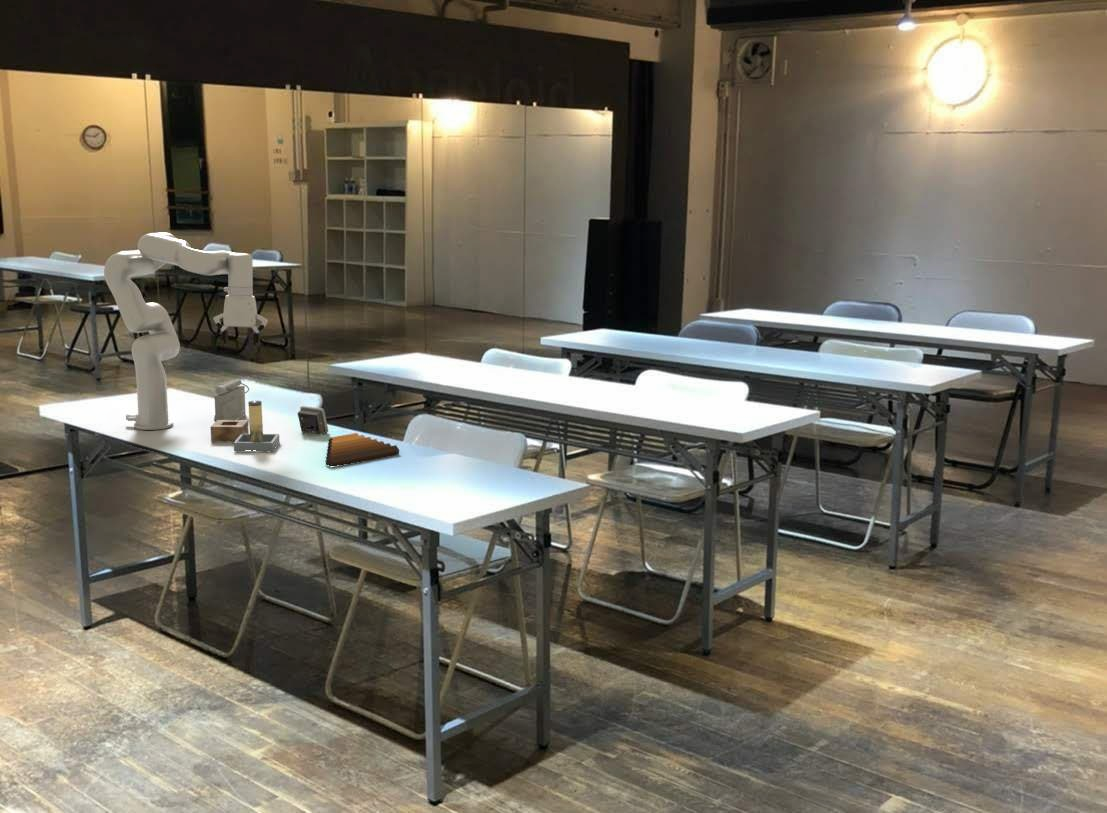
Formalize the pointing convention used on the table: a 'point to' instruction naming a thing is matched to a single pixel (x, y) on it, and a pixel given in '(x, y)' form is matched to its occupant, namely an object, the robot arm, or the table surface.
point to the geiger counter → (230, 401)
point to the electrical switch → (312, 420)
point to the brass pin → (255, 421)
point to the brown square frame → (228, 430)
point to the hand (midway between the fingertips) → (240, 343)
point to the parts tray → (256, 443)
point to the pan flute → (356, 449)
